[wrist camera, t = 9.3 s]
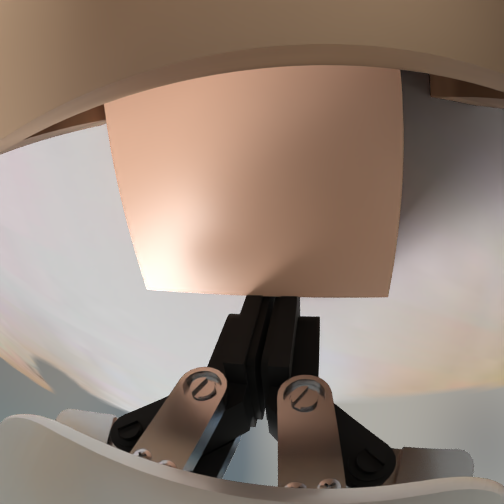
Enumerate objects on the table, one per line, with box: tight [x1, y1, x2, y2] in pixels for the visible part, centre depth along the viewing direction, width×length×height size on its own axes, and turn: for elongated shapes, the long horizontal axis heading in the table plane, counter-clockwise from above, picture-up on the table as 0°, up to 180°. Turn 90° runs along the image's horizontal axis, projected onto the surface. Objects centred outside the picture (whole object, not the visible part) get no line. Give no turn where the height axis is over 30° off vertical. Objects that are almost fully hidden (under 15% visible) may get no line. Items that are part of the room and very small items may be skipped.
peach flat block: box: [104, 65, 404, 297], centre depth 7 cm, size 8×12×3 cm, turn 6°
